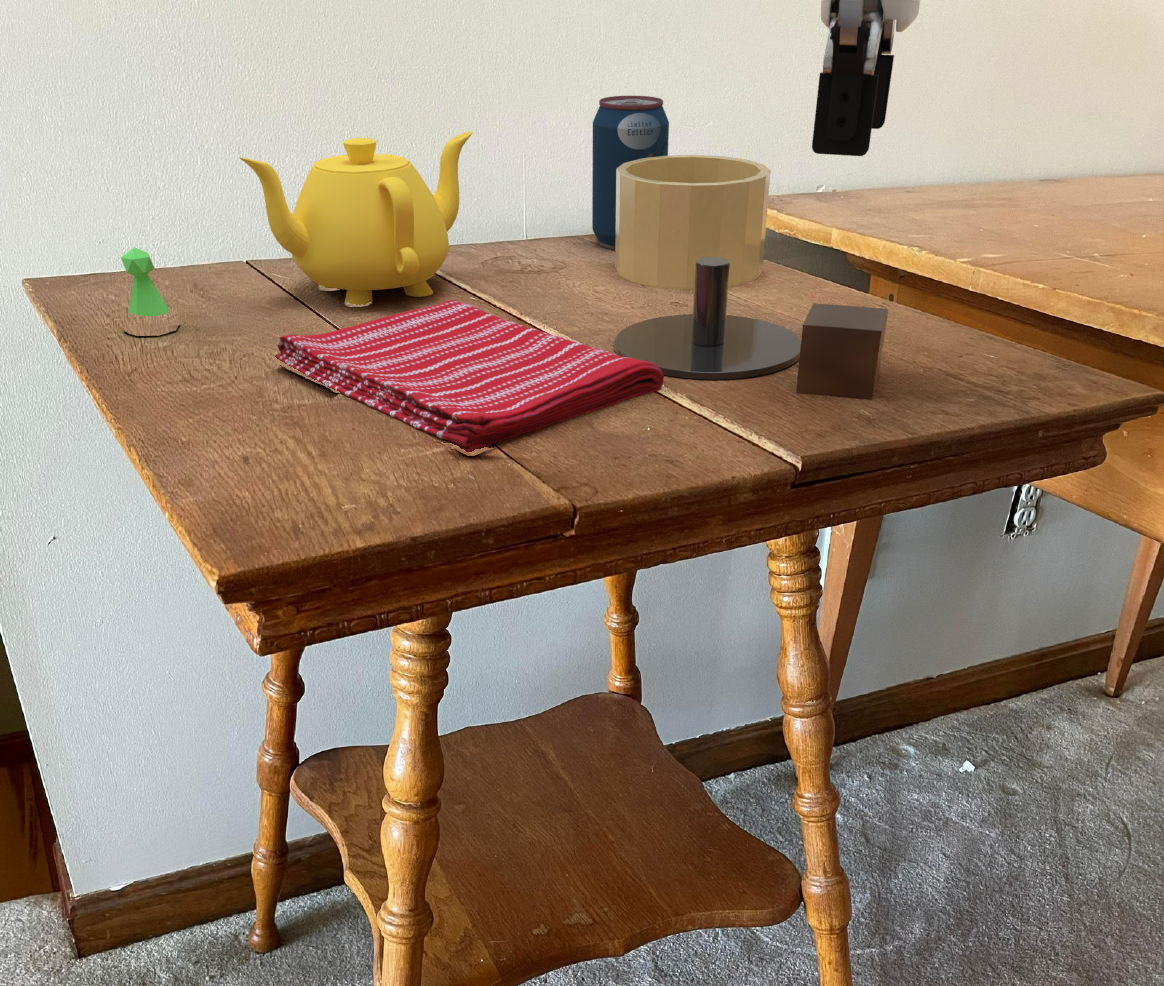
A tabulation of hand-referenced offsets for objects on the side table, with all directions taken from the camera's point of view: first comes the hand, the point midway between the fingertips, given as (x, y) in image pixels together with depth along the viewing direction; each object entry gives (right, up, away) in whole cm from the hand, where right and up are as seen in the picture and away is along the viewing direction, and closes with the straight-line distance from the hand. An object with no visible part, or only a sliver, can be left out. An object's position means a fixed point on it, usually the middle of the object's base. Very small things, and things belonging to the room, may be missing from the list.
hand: (849, 139), depth 72 cm
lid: (-7, -8, +14) cm, 18 cm away
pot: (-7, +5, +32) cm, 33 cm away
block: (+1, -13, +9) cm, 15 cm away
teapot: (-33, +2, +28) cm, 44 cm away
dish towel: (-24, -11, +11) cm, 29 cm away
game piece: (-50, -4, +21) cm, 54 cm away
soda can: (-12, +12, +42) cm, 45 cm away
